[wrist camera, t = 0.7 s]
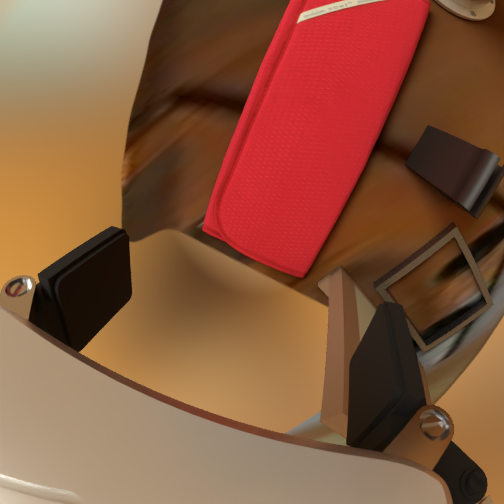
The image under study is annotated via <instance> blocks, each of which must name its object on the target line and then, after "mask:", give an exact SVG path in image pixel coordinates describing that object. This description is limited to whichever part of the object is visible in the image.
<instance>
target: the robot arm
mask: <svg viewBox="0 0 504 504" xmlns="http://www.w3.org/2000/svg"><path fill="white" fill-rule="evenodd" d="M434 1H436V2H437V3H438V4H439V5H440V6H442V7H443V8H445V9H446V10H448V11H449V12H451V13H453V14H455V15H457V16H459V17H461V18H464V19H468V20H473V21H480V20H484V19H486V18H488V17H489V16H491V15H492V13H493V12H494V9H495V0H434ZM129 251H130V250H129V236H128V235H127V234H126V231H125V230H124V229H120V228H117V227H113V226H111V227H109V228H108V229H106V230H104V231H102V232H101V233H99V234H97V235H96V236H94V237H93V238H91V239H89V240H88V241H86V242H85V243H83V244H82V245H80V246H78V247H77V248H75V249H74V250H72V251H71V252H69V253H68V254H66V255H65V256H63V257H62V258H60V259H59V260H57V261H56V262H54V263H53V264H51V265H50V266H48V267H47V268H46V269H44V270H43V271H41V272H40V273H38V278H39V281H40V282H39V283H38V284H37V285H36V281H35V280H34V278H32V277H31V276H27V275H26V276H25V275H22V276H17V277H14V278H12V279H10V280H9V281H7V282H6V283H5V284H4V286H3V288H2V290H1V293H0V504H494V503H493V501H492V499H491V497H490V495H489V496H487V497H485V493H486V490H487V478H486V476H485V473H484V472H483V470H482V469H481V468H480V467H479V466H478V465H477V464H476V463H475V462H474V461H473V460H471V459H470V458H469V457H468V456H467V455H466V454H465V453H464V452H463V451H462V450H461V449H460V448H459V447H458V446H457V445H456V444H455V443H454V442H452V441H451V439H452V437H453V434H454V424H453V421H452V419H451V417H450V415H449V414H448V413H447V412H446V411H445V410H444V409H442V408H440V407H438V406H435V405H427V403H426V397H425V392H424V387H423V382H422V377H421V372H420V368H419V363H418V359H417V355H416V351H415V348H414V346H413V342H412V338H411V334H410V331H409V327H408V323H407V320H406V316H405V313H404V309H403V306H402V305H400V304H396V303H392V302H388V301H387V302H385V303H384V305H383V304H380V305H379V306H378V308H377V310H376V312H375V314H374V316H373V318H372V320H371V322H370V324H369V326H368V328H367V330H366V332H365V334H364V336H363V338H362V339H361V341H360V343H359V345H358V347H357V349H356V351H355V352H354V354H353V356H352V358H351V360H350V364H349V399H348V422H347V438H346V443H347V445H348V446H342V445H336V444H330V443H325V442H320V441H314V440H310V439H305V438H300V437H296V436H291V435H287V434H283V433H278V432H274V431H270V430H267V429H263V428H259V427H255V426H252V425H248V424H245V423H241V422H238V421H235V420H232V419H228V418H225V417H222V416H219V415H216V414H213V413H210V412H208V411H205V410H202V409H199V408H196V407H194V406H191V405H188V404H185V403H183V402H180V401H178V400H175V399H173V398H171V397H168V396H166V395H163V394H161V393H158V392H156V391H154V390H152V389H150V388H147V387H145V386H143V385H141V384H138V383H136V382H134V381H132V380H130V379H128V378H125V377H124V376H122V375H120V374H118V373H116V372H114V371H112V370H110V369H108V368H106V367H104V366H102V365H100V364H98V363H97V362H95V361H93V360H91V359H89V358H88V357H86V356H84V355H82V354H80V353H79V351H81V350H82V349H83V348H84V347H85V346H86V345H87V344H88V342H90V340H91V339H92V338H93V337H94V336H95V335H96V334H97V333H98V332H99V331H100V330H101V329H102V328H103V327H104V326H105V325H106V324H107V323H108V322H109V321H110V319H111V318H112V317H113V316H114V315H115V314H116V313H117V312H118V311H119V310H120V309H121V308H122V307H123V306H124V305H125V304H126V303H127V302H128V301H129V300H130V298H131V296H132V283H131V269H130V252H129ZM349 446H350V447H349Z"/></svg>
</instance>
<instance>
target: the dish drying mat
mask: <svg viewBox="0 0 504 504" xmlns="http://www.w3.org/2000/svg"><path fill="white" fill-rule="evenodd" d="M430 5H431V2H430V1H429V0H291V1H290V3H289V5H288V7H287V9H286V11H285V13H284V15H283V18H282V20H281V22H280V24H279V27H278V29H277V31H276V33H275V35H274V38H273V40H272V42H271V44H270V46H269V48H268V51H267V53H266V55H265V57H264V59H263V62H262V64H261V66H260V69H259V71H258V74H257V76H256V79H255V81H254V84H253V87H252V89H251V92H250V94H249V97H248V99H247V102H246V104H245V107H244V109H243V112H242V114H241V117H240V120H239V122H238V125H237V127H236V130H235V132H234V135H233V137H232V140H231V142H230V145H229V147H228V150H227V152H226V155H225V158H224V161H223V163H222V166H221V169H220V172H219V175H218V178H217V180H216V183H215V186H214V189H213V192H212V195H211V199H210V202H209V205H208V209H207V212H206V216H205V219H204V224H203V227H202V230H203V231H204V232H206V233H207V234H209V235H211V236H213V237H216V238H218V239H220V240H222V241H225V242H226V243H228V244H229V245H230V246H231V247H233V248H234V249H236V250H237V251H239V252H241V253H243V254H244V255H246V256H248V257H250V258H252V259H254V260H256V261H258V262H260V263H263V264H265V265H267V266H270V267H272V268H274V269H277V270H279V271H282V272H284V273H287V274H290V275H293V276H295V277H299V278H303V277H304V276H305V274H306V273H307V272H308V270H309V269H310V267H311V265H312V264H313V262H314V260H315V258H316V256H317V255H318V253H319V251H320V249H321V247H322V246H323V244H324V242H325V240H326V239H327V237H328V235H329V233H330V232H331V230H332V228H333V226H334V225H335V223H336V221H337V219H338V217H339V215H340V213H341V211H342V209H343V208H344V206H345V204H346V202H347V200H348V198H349V196H350V194H351V193H352V191H353V189H354V187H355V185H356V183H357V181H358V179H359V177H360V175H361V173H362V171H363V169H364V167H365V165H366V163H367V160H368V158H369V156H370V154H371V151H372V149H373V147H374V145H375V143H376V141H377V139H378V137H379V135H380V133H381V130H382V128H383V126H384V124H385V121H386V119H387V117H388V114H389V112H390V110H391V108H392V106H393V103H394V101H395V99H396V96H397V94H398V92H399V89H400V87H401V84H402V82H403V80H404V77H405V75H406V73H407V70H408V68H409V66H410V63H411V60H412V58H413V55H414V52H415V50H416V47H417V44H418V41H419V38H420V36H421V33H422V30H423V28H424V25H425V22H426V19H427V16H428V13H429V9H430Z"/></svg>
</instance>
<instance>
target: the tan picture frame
mask: <svg viewBox="0 0 504 504" xmlns="http://www.w3.org/2000/svg"><path fill="white" fill-rule="evenodd" d="M318 286H319V288H320V289H321V290H322V291H323V292H324V293H325V294H326V295H327V296H328V297H329V314H328V335H327V352H326V367H325V379H324V390H323V400H322V409H321V418H320V422H322V423H323V424H325V425H326V426H328V427H329V428H330V429H332V430H333V431H335V432H336V433H338V434H339V435H341V436H342V437H344V438H345V439H346V438H347V422H348V399H349V364H350V360H351V358H352V356H353V354H354V352H355V351H356V349H357V347H358V345H359V343H360V341H361V339H362V338H363V336H364V334H365V332H366V330H367V328H368V326H369V324H370V322H371V320H372V318H373V316H374V314H375V312H376V310H377V308H376V307H375V305H374V304H373V303H372V302H371V301H370V299H369V298H368V297H367V296H366V295H365V293H364V292H363V291H362V290H361V289H360V287H359V286H358V285H357V284H356V283H355V282H354V280H353V279H352V278H351V277H350V276H349V275H348V273H347V272H346V271H345V270H344V269H343V268H342V266H340V267H339V268H337V269H336V270H335V271H333V272H332V273H330V274H329V275H328V276H326V277H325V278H323V279H322V280H321V281H319V282H318ZM418 363H419V368H420V372H421V377H422V382H423V387H424V392H425V397H426V403H427V405H431V400H430V395H429V390H428V386H427V381H426V377H425V373H424V369H423V366H422V365H421V364H420V362H419V361H418Z"/></svg>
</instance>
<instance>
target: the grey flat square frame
mask: <svg viewBox="0 0 504 504" xmlns="http://www.w3.org/2000/svg"><path fill="white" fill-rule="evenodd" d="M452 238H454V239H455V241H456V243H457V245H458V247H459V249H460V250H461V252H462V254H463V256H464V258H465V260H466V262H467V264H468V266H469V268H470V270H471V272H472V274H473V276H474V278H475V281H476V283H477V285H478V287H479V289H480V292H481V294H482V296H483V300H482V301H480V302H479V303H478V304H476V305H475V306H474V307H472V308H471V309H470V310H468V311H467V312H466V313H464V314H463V315H462V316H460V317H459V318H457V319H456V320H455V321H453V322H452V323H450V324H449V325H447V326H446V327H444V328H443V329H441V330H440V331H438V332H437V333H435V334H434V335H432V336H431V337H429V338H428V339H426V340H424V338H423V337H422V336H421V334H420V333H419V331H418V330H417V328H416V327H415V326H414V324H413V323H412V321H411V320H410V319H409V317H408V316H407V315H406V313H405V312H404V313H405V316H406V320H407V323H408V327H409V331H410V334H411V336H412V337H413V339H414V340H415V341H416V343H417V344H418V345H419V347H420V348H421V350H422V351H423V352H426V351H428V350H429V349H431V348H432V347H434V346H436V345H437V344H439V343H440V342H442V341H443V340H445V339H446V338H448V337H449V336H451V335H452V334H454V333H455V332H457V331H458V330H460V329H461V328H463V327H464V326H465V325H467V324H468V323H470V322H471V321H472V320H474V319H475V318H476V317H478V316H479V315H480V314H482V313H483V312H484V311H486V310H487V309H488V308H490V307H491V306H492V305H493V302H492V299H491V297H490V294H489V292H488V290H487V287H486V285H485V282H484V280H483V278H482V276H481V273H480V271H479V269H478V267H477V265H476V263H475V260H474V258H473V256H472V254H471V252H470V250H469V248H468V246H467V244H466V242H465V241H464V239H463V237H462V235H461V233H460V231H459V229H458V228H457V226H456V225H455V224H454V223H451V224H450V225H449V226H448V227H447V228H445V229H444V230H443V231H442V232H440V233H439V234H438V235H437V236H435V237H434V238H433V239H432V240H430V241H429V242H428V243H427V244H425V245H424V246H423V247H421V248H420V249H419V250H418V251H416V252H415V253H414V254H412V255H411V256H410V257H408V258H407V259H406V260H404V261H403V262H402V263H400V264H399V265H398V266H396V267H395V268H394V269H392V270H391V271H389V272H388V273H387V274H385V275H384V276H382V277H381V278H380V279H378V280H377V281H375V282H374V287H375V289H376V290H377V292H378V293H379V294H380V295H381V297H382V298H383V299H384V300H385V302H387V301H388V302H392V303H396V304H398V302H397V301H396V300H395V298H394V297H393V296H392V294H391V293H390V292H389V290H388V289H387V287H389V286H390V285H391V284H393V283H394V282H396V281H397V280H399V279H400V278H401V277H403V276H404V275H406V274H407V273H408V272H410V271H411V270H412V269H414V268H415V267H416V266H418V265H419V264H420V263H422V262H423V261H424V260H426V259H427V258H428V257H430V256H431V255H432V254H433V253H435V252H436V251H437V250H439V249H440V248H441V247H442V246H444V245H445V244H446V243H447V242H449V241H450V240H451V239H452Z"/></svg>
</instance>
